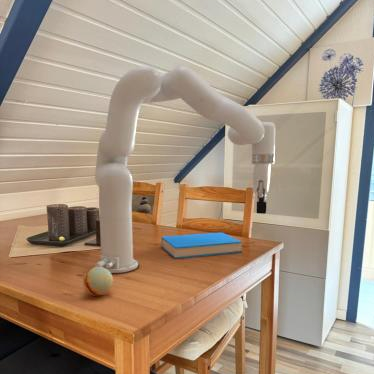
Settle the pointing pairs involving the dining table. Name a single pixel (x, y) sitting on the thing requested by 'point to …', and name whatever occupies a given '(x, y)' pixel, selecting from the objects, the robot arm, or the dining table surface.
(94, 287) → the ball
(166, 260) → the dining table surface
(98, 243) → the bookend
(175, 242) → the book
